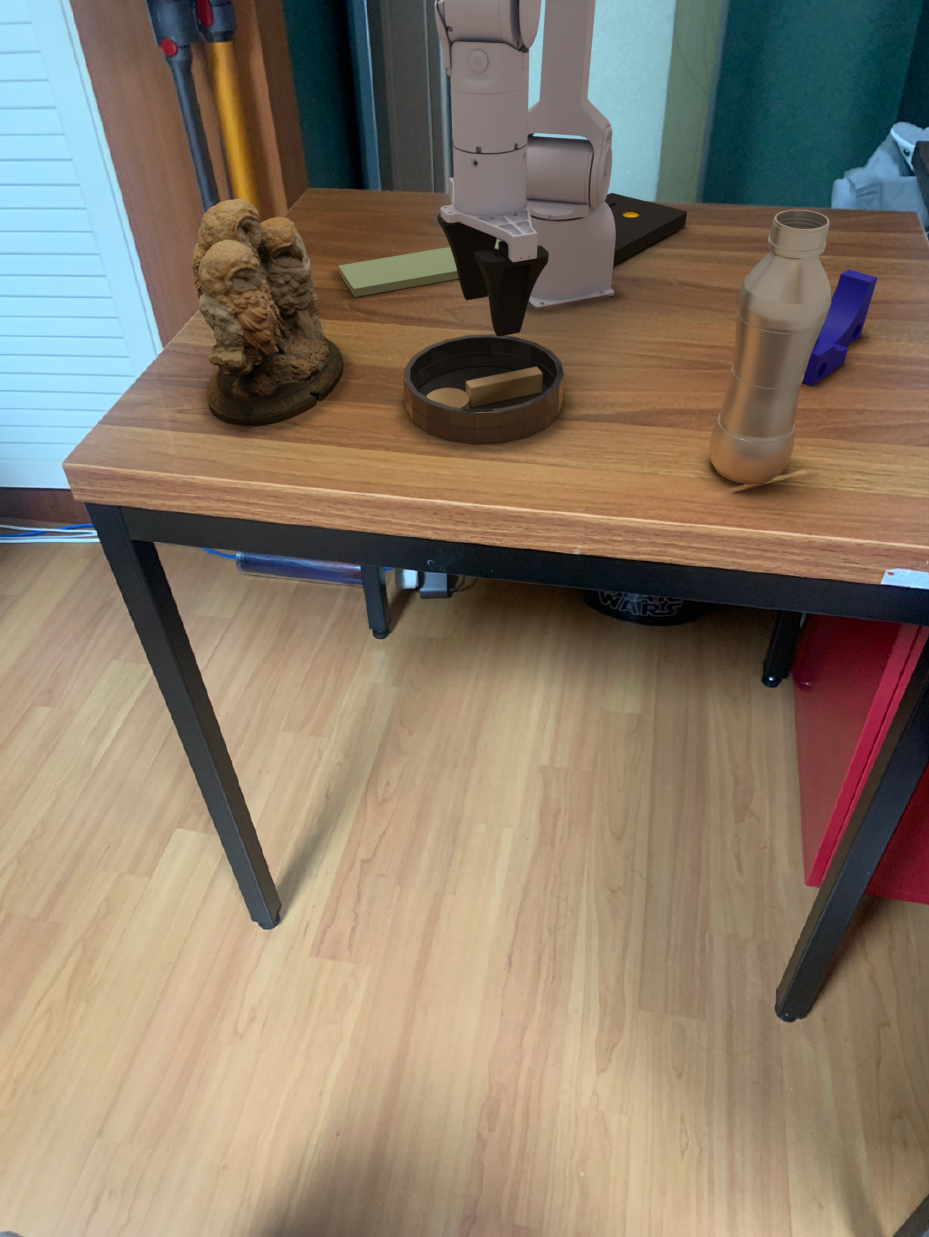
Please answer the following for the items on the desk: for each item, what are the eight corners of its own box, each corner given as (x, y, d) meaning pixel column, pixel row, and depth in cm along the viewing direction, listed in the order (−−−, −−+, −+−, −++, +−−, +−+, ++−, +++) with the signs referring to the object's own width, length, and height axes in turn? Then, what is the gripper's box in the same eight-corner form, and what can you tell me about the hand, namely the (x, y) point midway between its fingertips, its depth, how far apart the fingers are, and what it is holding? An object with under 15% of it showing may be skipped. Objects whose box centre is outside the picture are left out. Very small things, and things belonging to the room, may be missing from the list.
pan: (525, 357, 88) (526, 323, 86) (588, 428, 78) (590, 392, 76) (387, 385, 85) (384, 351, 82) (435, 462, 75) (433, 426, 73)
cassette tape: (610, 207, 117) (611, 190, 116) (686, 227, 112) (688, 209, 110) (524, 249, 108) (524, 231, 106) (602, 273, 102) (604, 254, 101)
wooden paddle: (433, 424, 79) (432, 404, 77) (419, 402, 81) (418, 382, 80) (548, 399, 81) (548, 379, 80) (530, 379, 84) (531, 359, 82)
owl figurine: (305, 442, 78) (270, 244, 66) (180, 431, 80) (124, 237, 68) (362, 346, 91) (341, 167, 79) (253, 339, 92) (217, 162, 81)
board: (498, 247, 109) (498, 238, 108) (520, 268, 104) (520, 259, 103) (339, 274, 104) (338, 265, 103) (354, 297, 99) (353, 288, 99)
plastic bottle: (788, 455, 74) (854, 206, 60) (782, 502, 70) (851, 243, 56) (710, 443, 76) (757, 198, 62) (698, 488, 71) (746, 233, 57)
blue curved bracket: (811, 385, 82) (827, 324, 78) (768, 370, 85) (782, 309, 81) (874, 341, 88) (892, 281, 84) (832, 327, 91) (848, 269, 87)
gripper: (411, 125, 72) (421, 290, 81) (473, 178, 62) (476, 359, 71) (493, 114, 73) (493, 277, 83) (566, 165, 63) (557, 344, 73)
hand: (491, 314), depth 77 cm, fingers open, 7 cm apart
